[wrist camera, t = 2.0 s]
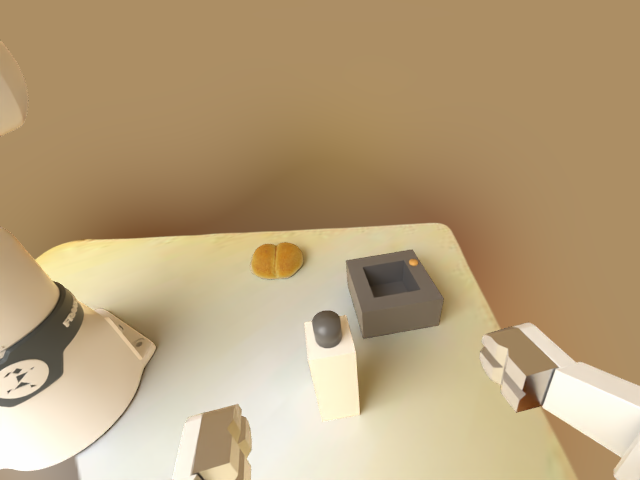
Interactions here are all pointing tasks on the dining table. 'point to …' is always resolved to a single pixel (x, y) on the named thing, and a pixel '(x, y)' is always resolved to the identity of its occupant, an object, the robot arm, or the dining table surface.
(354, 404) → the plug
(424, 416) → the dining table surface
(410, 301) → the socket block
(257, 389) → the dining table surface
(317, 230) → the dining table surface
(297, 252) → the bread roll
